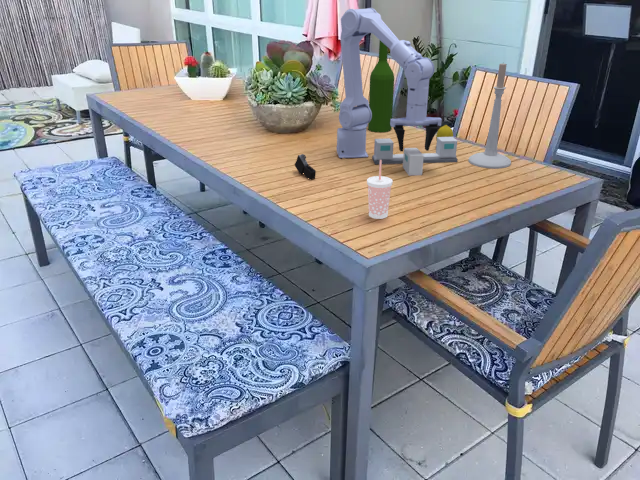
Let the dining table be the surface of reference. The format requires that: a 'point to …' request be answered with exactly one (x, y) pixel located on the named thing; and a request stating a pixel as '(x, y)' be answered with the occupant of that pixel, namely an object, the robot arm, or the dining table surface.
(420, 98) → the robot arm
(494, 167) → the candlestick
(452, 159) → the board
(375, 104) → the wine bottle
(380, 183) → the beverage cup
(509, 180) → the dining table surface
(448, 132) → the lemon
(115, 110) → the dining table surface
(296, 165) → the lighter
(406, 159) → the block
